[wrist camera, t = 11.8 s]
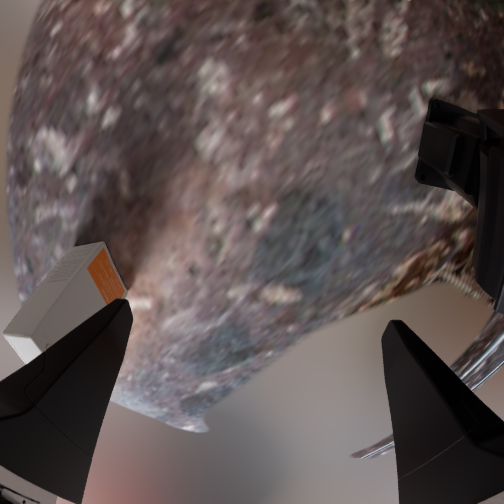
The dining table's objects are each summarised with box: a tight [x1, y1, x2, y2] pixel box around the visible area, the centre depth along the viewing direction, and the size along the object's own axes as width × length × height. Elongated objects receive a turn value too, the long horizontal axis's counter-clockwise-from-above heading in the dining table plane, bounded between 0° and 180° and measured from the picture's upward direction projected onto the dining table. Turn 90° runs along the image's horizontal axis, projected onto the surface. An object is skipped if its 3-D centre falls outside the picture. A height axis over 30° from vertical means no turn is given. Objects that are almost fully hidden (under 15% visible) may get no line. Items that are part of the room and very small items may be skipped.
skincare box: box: [3, 241, 128, 364], centre depth 21 cm, size 6×4×12 cm
